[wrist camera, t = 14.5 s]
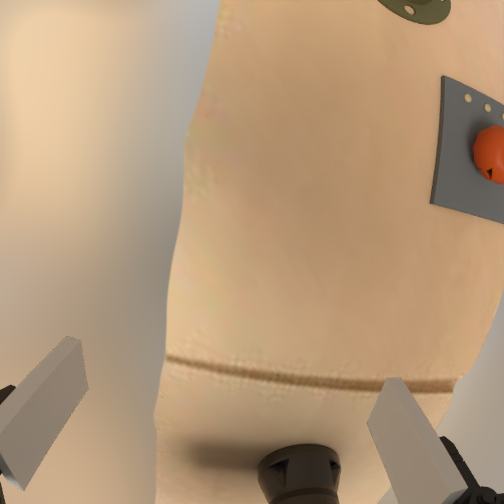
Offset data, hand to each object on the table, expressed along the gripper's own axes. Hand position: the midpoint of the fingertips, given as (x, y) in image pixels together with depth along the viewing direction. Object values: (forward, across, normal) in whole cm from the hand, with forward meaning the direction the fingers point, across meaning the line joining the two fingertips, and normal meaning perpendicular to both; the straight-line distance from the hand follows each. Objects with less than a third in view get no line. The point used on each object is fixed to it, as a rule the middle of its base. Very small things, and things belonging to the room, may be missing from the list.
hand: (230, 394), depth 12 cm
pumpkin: (+26, -31, -18) cm, 44 cm away
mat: (+27, -31, -18) cm, 45 cm away
